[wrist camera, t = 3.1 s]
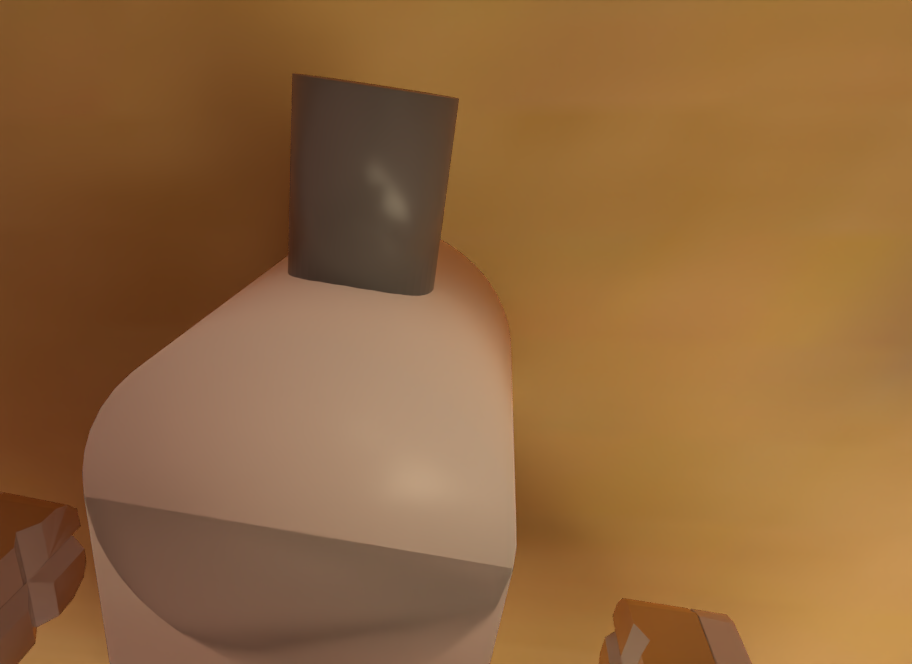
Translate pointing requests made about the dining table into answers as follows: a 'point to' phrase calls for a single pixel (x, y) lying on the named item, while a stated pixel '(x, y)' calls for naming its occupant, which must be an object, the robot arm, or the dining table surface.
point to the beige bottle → (321, 428)
